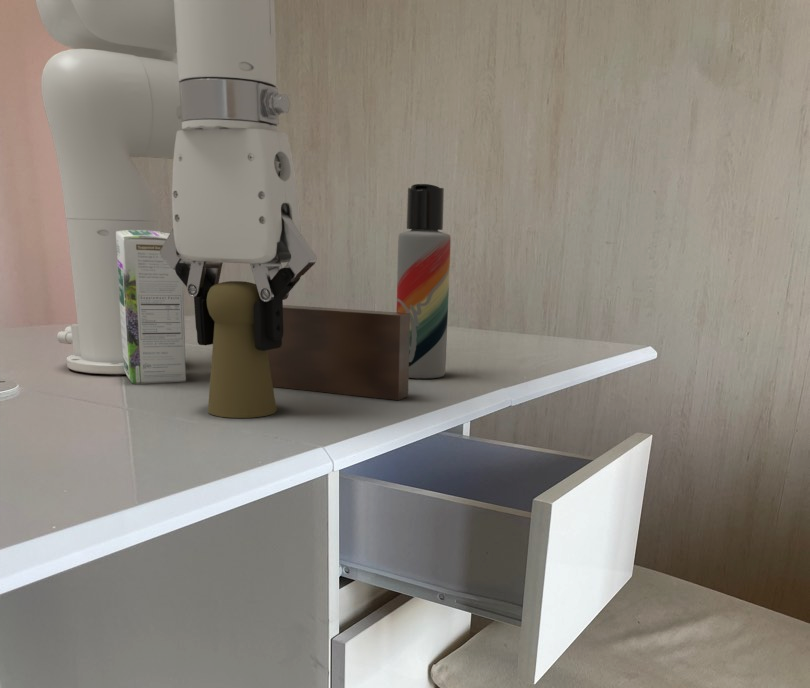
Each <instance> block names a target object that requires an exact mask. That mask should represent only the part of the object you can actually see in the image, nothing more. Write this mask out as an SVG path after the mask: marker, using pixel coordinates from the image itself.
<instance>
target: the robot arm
mask: <svg viewBox="0 0 810 688" xmlns="http://www.w3.org/2000/svg"><path fill="white" fill-rule="evenodd" d="M35 5H36V8H37V11H38V14H39V17H40V20H41V23H42V25H43V27H44V30H46V32H47V33H48V35H49V36H50V37H51V38H52V39H53V40H54V41H55V42H57V43H58V44H60V45H62V46H65V47H67V48H69V49H66V50H62V51H60V52H58V53H56V54H54V55H52V56H51V57H50V58H49V59H48V60H47V62H46V64H45V65H44V68H43V70H42V73H41V81H40V89H41V97H42V102H43V108H44V111H45V115H46V119H47V123H48V126H49V130H50V135H51V138H52V142H53V146H54V150H55V151H54V152H55V155H56V160H57V165H58V170H59V177H60V182H61V183H60V184H61V191H62V198H63V206H64V216H65V223H66V231H67V239H68V249H69V258H70V268H71V275H72V276H71V277H72V286H73V294H74V304H75V312H76V322H77V323H76V324H75V323H73V324H70V325H68V326H66V327H65V328H64V330H60V331H58V333H57V334H56V335H57V336H56V338H57V341H58V342H59V343H60V344H65V345H72V348H73V354H70V355H69V356H67V357H66V359H65V361H66V366H67V368H68V369H70V370H71V371H74V372H79V373H85V374H100V375H126V373H125V370H124V362H123V348H122V334H121V318H120V300H119V280H118V260H117V244H116V231H124V230H149V231H157V232H161V229H160V219H159V208H158V202H157V199H156V197H155V194H154V192H153V189H152V188H151V186H150V184H149V183H148V181H147V179H146V178H145V177H144V175H143V173H142V172H141V171H140V170H139V168H138V167H137V165H136V164H135V163H134V161H133V160H132V158H151V159H164V160H165V159H166V160H172V161H173V162H172V175H171V176H172V183H171V210H172V211H171V212H172V229H171V231H170V234H169V236H168V238H167V240H166V241H165V243H164V245H163V246H162V248H161V251H160V254H161V256H162V258H163V259H164V260H165V261H166V262H167V263H168V264H169V265H170V266H171V267H172V268H173V269H175V271H176V274H177V276H178V277H179V278H180V279H181V281H182V282H183V285H185V287H186V292H187V295H188V296H190V297H191V298H193V305H194V319H195V320H194V321H195V322H194V323H195V330H196V341H197V344H198V345H199V346H209V345H213V336H214V323H215V322H214V320H213V319H212V317H211V316H210V314H209V311H208V308H207V294H208V292H209V290H210V288H211V287H212V286H213V285H215V284H218V283H220V278H221V273H222V269H223V263H225V264H226V263H227V264H228V263H229V264H249V266H250V269H251V273H252V275H253V279H254V284H256V286H257V290H258V293H259V296H260V301H255V303H254V332H255V347H256V349H257V350H261V351H266V350H270V349H275V348H280V347H281V345H282V337H283V305H284V300H285V301H286V300H287V299H288V298H289V295H290V292H291V291H292V289H293V288H294V287H295V286H296V285H297V284H298V282H299V281H300V280H301V277H302V276H304V275H305V274H306V273H308V271H309V270H310V269H311V268H312V267H313V266H315V264H316V263H317V256H316V253H315V252H314V251H313V249H312V248H311V246H310V245H309V243H308V242H307V240H306V239H305V238H304V235H302V227H301V224H302V223H301V214H300V202H299V199H300V198H299V191H298V190H299V189H298V183H297V176H296V169H295V163H294V159H293V153H292V149H291V144H290V139H289V136H288V133H287V132H283V131H278V130H279V129H278V127H279V126H278V125H279V124H280V115H281V114H288V113H289V112H290V107H291V103H290V99H289V96H288V95H287V94H286V93H279V88H278V85H277V84H278V83H277V49H276V47H277V45H276V44H277V43H276V7H275V5H276V4H275V0H35ZM283 263H286V265H285V266H284V267H283V266H282V264H283Z"/></svg>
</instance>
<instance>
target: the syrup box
mask: <svg viewBox="0 0 810 688" xmlns="http://www.w3.org/2000/svg"><path fill="white" fill-rule="evenodd" d="M170 233H171V232H170ZM170 233H169V232H163V231H160V232H157V231H149V230H124V231H116V244H117V260H118V280H119V300H120V318H121V334H122V348H123V362H124V370H125V373H126V374H125V375H126V377H127V378H128V380H129V381H130V383H131V384H132V385H142V384H145V385H146V384H162V383H163V384H164V383H177V382H179V383H180V382H182V383H183V382H186V381H187V367H186V366H187V364H186V362H187V361H186V335H185V308H184V307H185V303H184V283H183V282H182V281H181V279H180V278H179V277H178V276H177V274H176V271H175V269H173V268H172V267H171V266H170V265H169V264H168V263H167V262H166V261H165V260H164V259H163V258H162V256H161V254H160V251H161V248H162V246H163V245H164V243H165V241H166V240H167V238H168V236H169V234H170Z"/></svg>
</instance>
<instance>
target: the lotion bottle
mask: <svg viewBox="0 0 810 688" xmlns="http://www.w3.org/2000/svg"><path fill="white" fill-rule="evenodd" d="M444 197H445V188H444V187H439V186H438V185H434V184H430V183H429V184H428V183H416V184H412V185H411V187H407V203H406V204H407V205H406V229H407V230H408V231H403V232H400V233H399V234H398V236H397V237H398V238H397V239H398V240H397V272H396V275H397V276H396V312H398V313H410V338H409V377H408V379H424V380H425V379H426V380H428V379H437V378H438V379H439V378H443V377H444V376H445V374H446V364H447V345H448V344H447V342H448V339H447V338H448V322H449V321H448V319H449V318H448V317H449V316H448V314H449V294H450V271H451V269H450V268H451V266H450V265H451V244H452V243H451V241H452V240H451V235H450V234H448V233H446V232H444V231H443V230H444V203H445V202H444V201H445V198H444ZM442 231H443V232H442Z"/></svg>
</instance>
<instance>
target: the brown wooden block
mask: <svg viewBox="0 0 810 688" xmlns="http://www.w3.org/2000/svg"><path fill="white" fill-rule="evenodd" d="M409 338H410V313H398V312H397V311H396V312H395V311H380V310H368V309H367V310H365V309H351V308H338V307H337V308H335V307H321V306H306V305H292V304H283V337H282V345H281V347H280V348H275V349H270V350H267V353H268V359H269V365H270V372H271V378H272V384H273V388H281V389H291V390H299V391H310V392H319V393H327V394H338V395H344V396H345V395H346V396H353V397H354V396H355V397H363V398H373V399H381V400H390V401H391V400H392V401H400V400H403V399H405V398H408V397H409V378H408V377H409Z"/></svg>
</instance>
